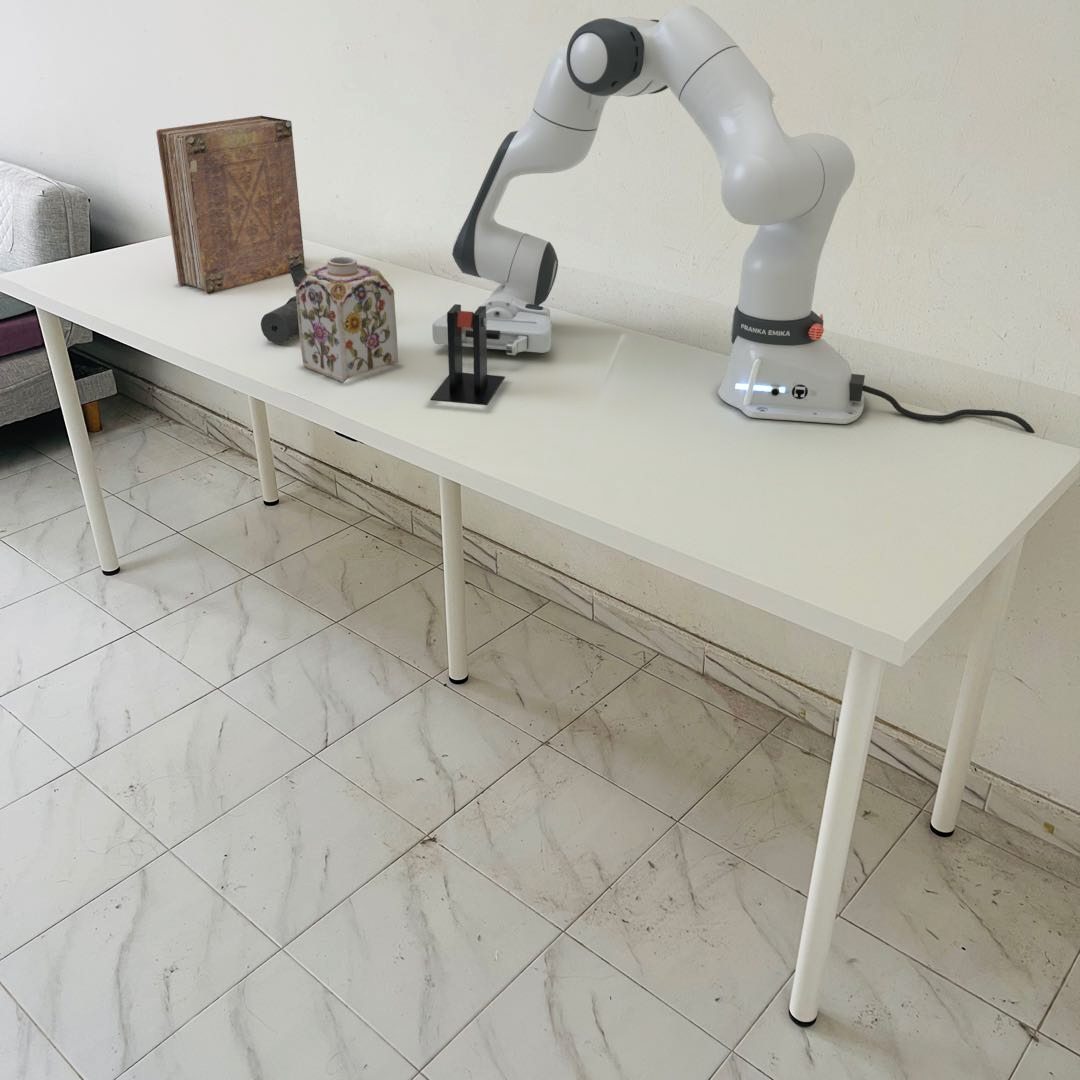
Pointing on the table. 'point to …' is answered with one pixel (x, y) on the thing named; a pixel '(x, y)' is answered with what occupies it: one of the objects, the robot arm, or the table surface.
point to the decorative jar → (346, 319)
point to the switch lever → (467, 324)
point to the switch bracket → (458, 383)
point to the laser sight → (284, 313)
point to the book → (231, 201)
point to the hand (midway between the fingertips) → (482, 348)
